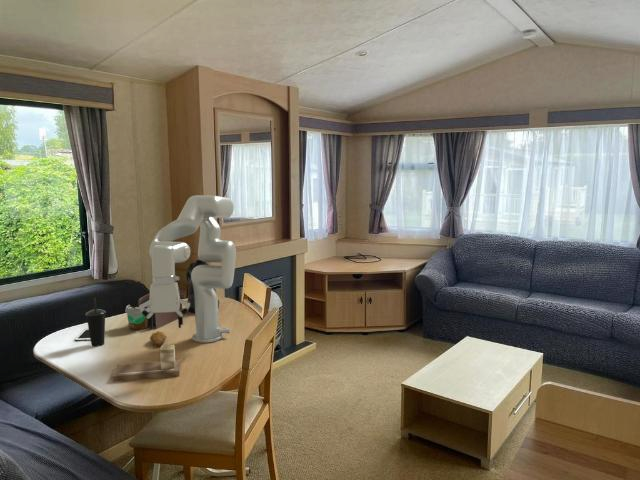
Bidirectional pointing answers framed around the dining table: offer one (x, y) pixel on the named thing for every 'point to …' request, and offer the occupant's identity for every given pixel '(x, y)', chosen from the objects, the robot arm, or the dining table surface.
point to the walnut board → (144, 371)
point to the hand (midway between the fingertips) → (165, 327)
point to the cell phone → (83, 336)
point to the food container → (136, 318)
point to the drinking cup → (96, 325)
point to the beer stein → (191, 290)
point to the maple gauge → (167, 356)
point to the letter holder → (159, 314)
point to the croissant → (158, 338)
